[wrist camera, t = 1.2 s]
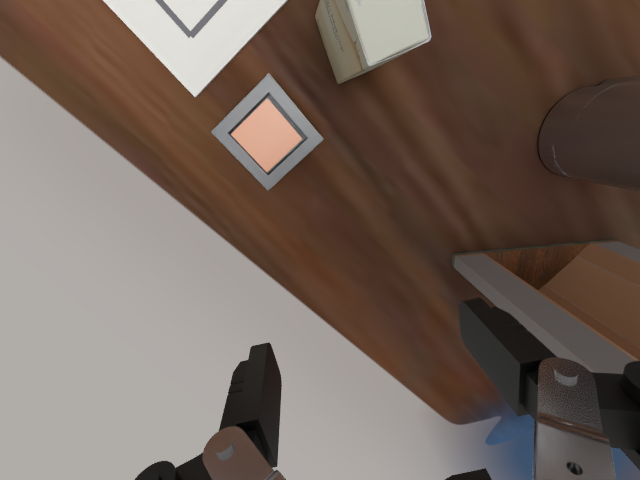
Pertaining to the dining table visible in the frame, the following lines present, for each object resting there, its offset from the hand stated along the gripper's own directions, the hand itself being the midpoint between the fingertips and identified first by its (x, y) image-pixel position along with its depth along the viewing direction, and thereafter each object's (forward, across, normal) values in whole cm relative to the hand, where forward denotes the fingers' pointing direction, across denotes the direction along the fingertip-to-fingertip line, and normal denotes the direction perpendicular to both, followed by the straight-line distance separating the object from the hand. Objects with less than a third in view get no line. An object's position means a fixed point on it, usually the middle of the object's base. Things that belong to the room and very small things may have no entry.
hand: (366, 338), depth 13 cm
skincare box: (+24, -5, -14) cm, 28 cm away
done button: (+20, +4, -8) cm, 22 cm away
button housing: (+23, +4, -8) cm, 25 cm away
